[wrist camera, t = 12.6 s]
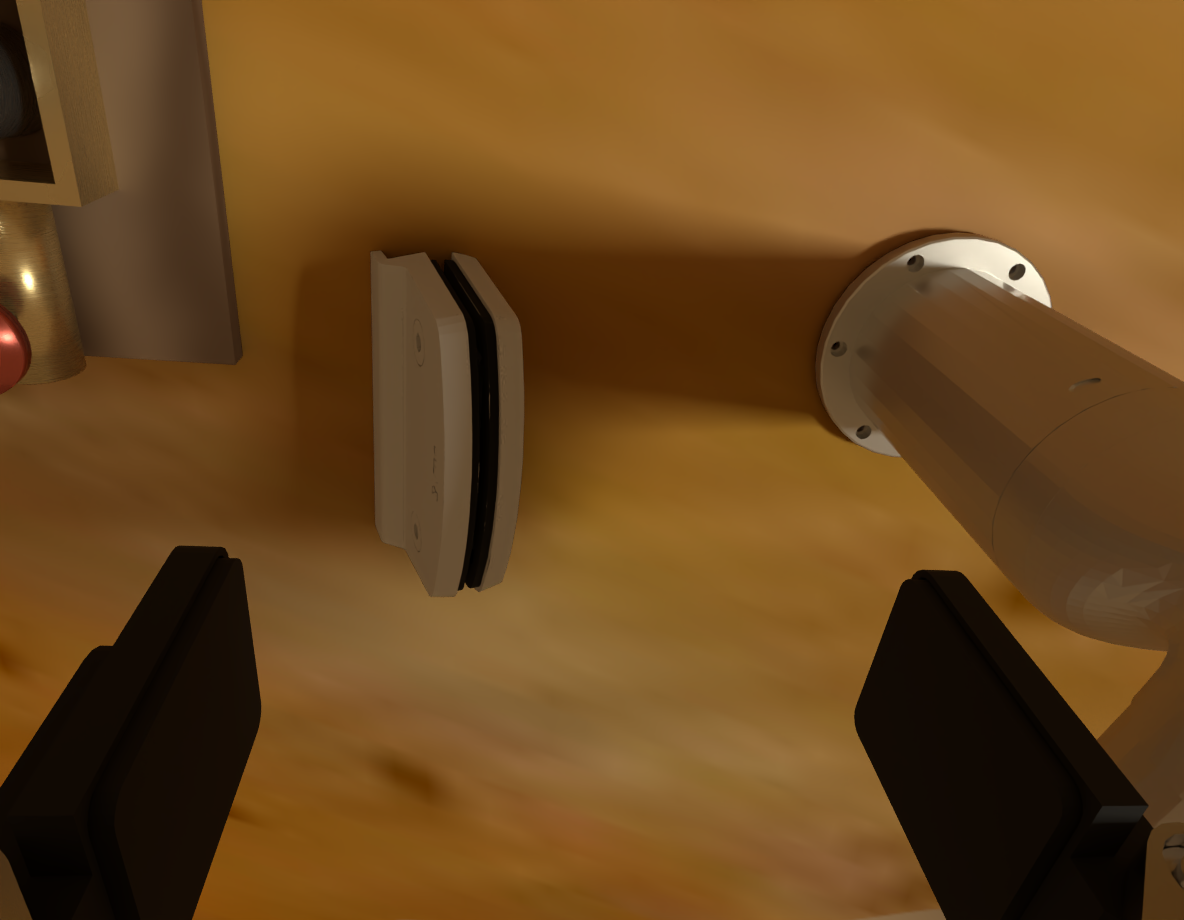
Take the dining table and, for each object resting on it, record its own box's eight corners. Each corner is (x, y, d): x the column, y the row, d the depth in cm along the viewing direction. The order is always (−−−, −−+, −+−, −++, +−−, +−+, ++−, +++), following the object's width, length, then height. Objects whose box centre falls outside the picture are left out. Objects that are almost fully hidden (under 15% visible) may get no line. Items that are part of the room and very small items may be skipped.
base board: (193, -69, 31) (182, -72, 30) (242, 355, 40) (235, 364, 39) (-204, -120, 30) (-230, -124, 28) (-61, 336, 38) (-77, 345, 37)
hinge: (370, 243, 38) (423, 315, 30) (465, 243, 40) (538, 311, 32) (375, 530, 46) (418, 645, 38) (454, 519, 48) (510, 625, 40)
